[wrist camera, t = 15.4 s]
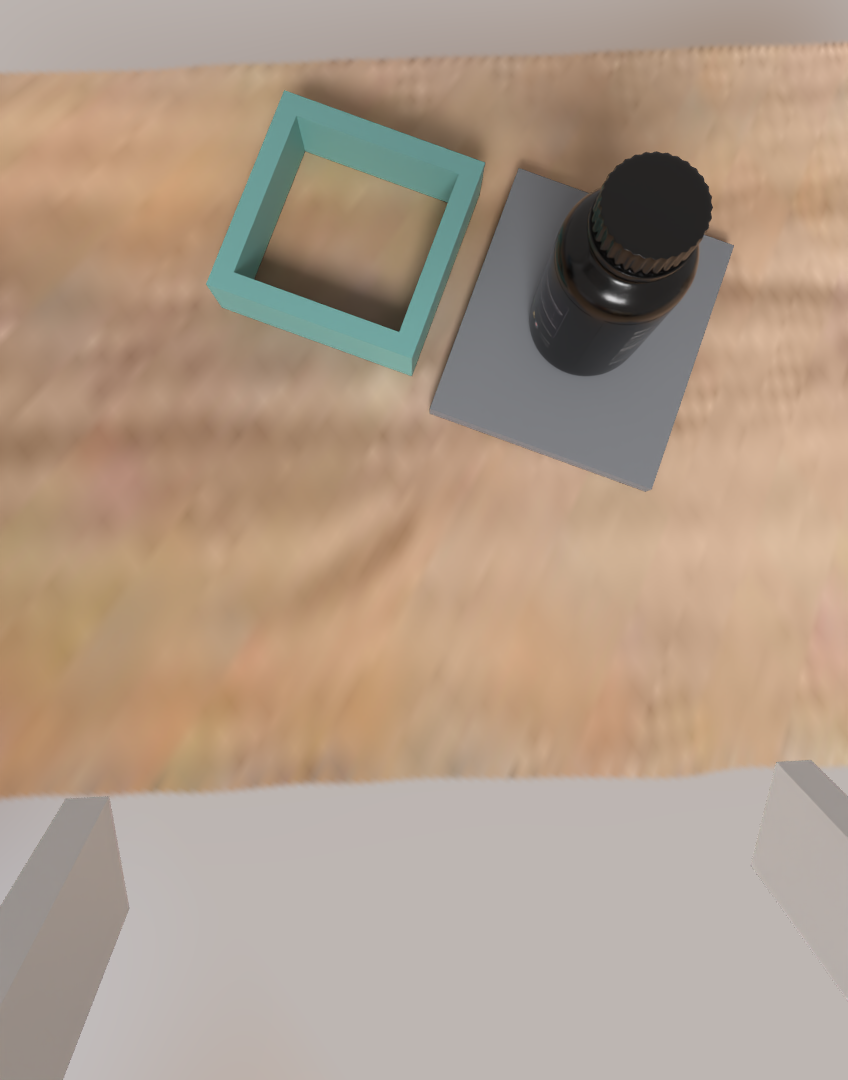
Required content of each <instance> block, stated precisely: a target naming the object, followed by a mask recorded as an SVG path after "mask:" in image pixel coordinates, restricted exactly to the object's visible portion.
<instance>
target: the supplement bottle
mask: <svg viewBox="0 0 848 1080" xmlns="http://www.w3.org/2000/svg"><path fill="white" fill-rule="evenodd" d="M711 199H712V196H711V195H710V193H709V186H708V185H707V184H706V183H705V182H704V178H703V176H701V175H700V174H699V173H698V171H697V169H696V168H694V167H692V166H691V165H690V164H689V163H688V162H687V161H683V160H681V159H680V158H679V157H678V156H672V155H670V154H669V153H660V152H653V153H648V152H645V153H643V154H642V155H634V156H633V157H632V158H630V159H625V160H624V162H623V163H622V164H620V165H617V166H616V167H615V169H614V171H613V172H611V173H610V174H609V175H608V176H607V179H606V181H605V182H604V184H603V185H602V187H601V188H599V189H596V190H595V191H593V192H591V193H589V194H588V195H586V196H585V197H584V198H582V199H581V200H580V201H579V202H578V203H577V204H576V205H575V206H574V207H573V208H572V209H571V211H570V212H569V213H568V215H567V216H566V218H565V220H564V222H563V224H562V225H561V228H560V230H559V232H558V235H557V237H556V240H555V242H554V245H553V248H552V250H551V253H550V255H549V258H548V261H547V263H546V266H545V269H544V271H543V274H542V276H541V279H540V282H539V284H538V287H537V289H536V292H535V295H534V298H533V301H532V304H531V308H530V313H529V327H530V333H531V336H532V339H533V342H534V344H535V346H536V348H537V350H538V351H539V353H540V354H541V355H542V356H543V358H544V359H545V360H546V361H547V362H548V363H550V364H551V365H552V366H554V367H555V368H557V369H559V370H561V371H563V372H565V373H568V374H571V375H576V376H596V375H601V374H604V373H607V372H609V371H612V370H614V369H615V368H617V367H618V366H620V365H621V364H623V363H624V362H625V361H626V360H627V359H628V358H629V357H630V356H631V355H632V354H633V353H634V352H635V351H636V350H637V349H638V348H639V346H640V345H641V344H642V343H643V342H644V341H645V340H646V339H647V338H648V336H649V335H650V334H651V333H652V332H653V331H654V330H655V329H656V328H657V326H658V325H659V324H660V323H661V322H662V321H663V320H664V319H665V317H666V316H667V315H668V314H669V313H670V312H671V311H672V310H673V309H674V307H675V306H676V305H677V304H678V303H679V302H680V301H681V299H682V298H683V297H684V295H685V294H686V293H687V291H688V290H689V288H690V286H691V284H692V282H693V280H694V278H695V275H696V272H697V268H698V263H699V243H700V242H701V241H702V239H703V236H704V234H705V233H706V232H707V230H708V228H709V222H710V221H711V219H712V216H711V211H712V208H713V206H712V204H711Z"/></svg>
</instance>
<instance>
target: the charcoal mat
mask: <svg viewBox="0 0 848 1080" xmlns="http://www.w3.org/2000/svg"><path fill="white" fill-rule="evenodd" d="M588 194H589V193H587V192H584V191H581V190H578V189H576V188H573V187H570V186H567V185H565V184H562V183H559V182H556V181H553V180H551V179H548V178H545V177H542V176H540V175H537V174H534V173H531V172H528V171H526V170H523V169H520V168H519V169H518V172H517V174H516V177H515V180H514V182H513V185H512V188H511V190H510V193H509V196H508V199H507V201H506V204H505V207H504V209H503V212H502V215H501V218H500V220H499V223H498V226H497V228H496V231H495V234H494V237H493V239H492V242H491V245H490V247H489V250H488V253H487V255H486V258H485V261H484V264H483V266H482V269H481V272H480V274H479V277H478V280H477V283H476V285H475V288H474V291H473V293H472V296H471V299H470V302H469V304H468V307H467V310H466V312H465V315H464V318H463V320H462V323H461V326H460V329H459V331H458V334H457V337H456V339H455V342H454V345H453V348H452V350H451V353H450V356H449V358H448V361H447V364H446V367H445V369H444V372H443V375H442V377H441V380H440V383H439V385H438V388H437V391H436V394H435V396H434V399H433V402H432V404H431V407H430V414H433V415H436V416H438V417H441V418H444V419H447V420H449V421H452V422H455V423H458V424H460V425H463V426H466V427H469V428H471V429H474V430H477V431H480V432H482V433H485V434H488V435H491V436H494V437H496V438H499V439H502V440H505V441H507V442H510V443H513V444H516V445H518V446H521V447H524V448H527V449H529V450H532V451H535V452H538V453H540V454H543V455H546V456H549V457H551V458H554V459H557V460H560V461H562V462H565V463H568V464H571V465H574V466H576V467H579V468H582V469H585V470H587V471H590V472H593V473H596V474H598V475H601V476H604V477H607V478H609V479H612V480H615V481H618V482H620V483H623V484H626V485H629V486H631V487H634V488H637V489H640V490H642V491H645V492H646V491H648V490H651V489H652V486H653V484H654V481H655V478H656V475H657V472H658V469H659V466H660V463H661V460H662V457H663V454H664V451H665V448H666V445H667V442H668V439H669V436H670V433H671V430H672V427H673V424H674V421H675V419H676V416H677V413H678V410H679V407H680V404H681V401H682V398H683V395H684V392H685V389H686V386H687V383H688V380H689V377H690V374H691V371H692V368H693V365H694V362H695V359H696V356H697V354H698V351H699V348H700V345H701V342H702V339H703V336H704V333H705V330H706V327H707V324H708V321H709V318H710V315H711V312H712V309H713V306H714V303H715V300H716V297H717V294H718V291H719V289H720V286H721V283H722V280H723V277H724V274H725V271H726V268H727V265H728V262H729V259H730V256H731V253H732V250H733V247H734V245H731V244H728V243H726V242H723V241H720V240H717V239H715V238H712V237H709V236H706V235H704V236H703V239H702V241H701V242H700V243H699V263H698V268H697V272H696V275H695V278H694V280H693V282H692V284H691V286H690V288H689V290H688V291H687V293H686V294H685V295H684V297H683V298H682V299H681V301H680V302H679V303H678V304H677V305H676V306H675V307H674V309H673V310H672V311H671V312H670V313H669V314H668V315H667V316H666V317H665V319H664V320H663V321H662V322H661V323H660V324H659V325H658V326H657V328H656V329H655V330H654V331H653V332H652V333H651V334H650V335H649V336H648V338H647V339H646V340H645V341H644V342H643V343H642V344H641V345H640V346H639V348H638V349H637V350H636V351H635V352H634V353H633V354H632V355H631V356H630V357H629V358H628V359H627V360H626V361H625V362H624V363H623V364H621V365H620V366H618V367H617V368H615V369H614V370H612V371H609V372H607V373H604V374H601V375H596V376H576V375H571V374H568V373H565V372H563V371H561V370H559V369H557V368H555V367H554V366H552V365H551V364H550V363H548V362H547V361H546V360H545V359H544V358H543V356H542V355H541V354H540V353H539V351H538V350H537V348H536V346H535V344H534V342H533V339H532V336H531V333H530V327H529V313H530V308H531V304H532V301H533V298H534V295H535V292H536V289H537V287H538V284H539V282H540V279H541V276H542V274H543V271H544V269H545V266H546V263H547V261H548V258H549V255H550V253H551V250H552V248H553V245H554V242H555V240H556V237H557V235H558V232H559V230H560V228H561V225H562V224H563V222H564V220H565V218H566V216H567V215H568V213H569V212H570V211H571V209H572V208H573V207H574V206H575V205H576V204H577V203H578V202H579V201H580V200H581V199H582V198H584V197H585V196H586V195H588Z"/></svg>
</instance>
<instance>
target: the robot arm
mask: <svg viewBox="0 0 848 1080" xmlns="http://www.w3.org/2000/svg"><path fill="white" fill-rule="evenodd" d="M751 867H752V868H753V870H755V872H756V874H757V875H758V877H759V878H760V879H761V881H762V882H763V884H764V885H765V886H766V888H767V889H768V891H769V892H770V893H771V895H772V896H773V897H774V899H775V900H776V902H777V903H778V904H779V906H780V907H781V909H782V910H783V912H784V913H785V914H786V916H787V917H788V919H789V920H790V921H791V923H792V924H793V926H794V927H795V928H796V930H797V931H798V932H799V934H800V935H801V937H802V938H803V939H804V941H805V942H806V943H807V945H808V946H809V948H810V949H811V951H812V952H813V954H814V955H815V956H816V958H817V959H818V960H819V962H820V963H821V965H822V966H823V967H824V969H825V970H826V971H827V973H828V974H829V976H830V977H831V979H832V980H833V981H834V983H835V984H836V986H837V987H838V988H839V990H840V991H841V993H842V994H843V995H844V997H845V998H846V999H847V1001H848V796H847V795H846V794H845V793H844V792H843V791H842V790H841V789H840V788H839V787H838V786H837V785H836V784H835V783H834V782H833V781H832V780H831V779H829V777H828V776H827V775H826V774H825V773H824V772H823V771H822V770H821V769H820V768H819V767H818V766H817V765H816V764H815V763H813V762H812V761H811V760H805V761H785V762H776V765H775V769H774V773H773V777H772V782H771V786H770V789H769V794H768V798H767V802H766V806H765V810H764V814H763V818H762V822H761V826H760V830H759V834H758V838H757V842H756V847H755V850H754V854H753V858H752V863H751ZM128 910H129V904H128V899H127V893H126V887H125V882H124V876H123V871H122V865H121V860H120V854H119V848H118V843H117V837H116V832H115V826H114V821H113V815H112V809H111V804H110V798H109V797H90V798H71V799H65V801H64V803H63V804H62V806H61V807H60V809H59V811H58V812H57V814H56V816H55V817H54V819H53V820H52V822H51V824H50V825H49V827H48V829H47V831H46V832H45V834H44V835H43V837H42V839H41V840H40V842H39V844H38V845H37V847H36V848H35V850H34V852H33V853H32V855H31V857H30V858H29V860H28V862H27V863H26V865H25V867H24V868H23V870H22V871H21V873H20V875H19V876H18V878H17V880H16V881H15V883H14V885H13V886H12V888H11V890H10V891H9V893H8V894H7V896H6V898H5V900H4V901H3V903H2V904H1V906H0V1080H63V1078H64V1075H65V1073H66V1070H67V1068H68V1065H69V1063H70V1060H71V1057H72V1055H73V1052H74V1050H75V1047H76V1045H77V1042H78V1039H79V1037H80V1034H81V1031H82V1029H83V1027H84V1024H85V1021H86V1019H87V1016H88V1014H89V1011H90V1008H91V1006H92V1003H93V1001H94V998H95V995H96V993H97V990H98V988H99V985H100V983H101V980H102V978H103V975H104V972H105V970H106V967H107V965H108V962H109V959H110V957H111V954H112V952H113V949H114V946H115V944H116V941H117V939H118V936H119V934H120V931H121V929H122V926H123V923H124V921H125V918H126V915H127V913H128Z"/></svg>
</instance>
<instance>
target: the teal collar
mask: <svg viewBox="0 0 848 1080" xmlns="http://www.w3.org/2000/svg"><path fill="white" fill-rule="evenodd" d="M305 151H306V152H309V153H312V154H315V155H317V156H320V157H323V158H326V159H328V160H331V161H334V162H337V163H339V164H342V165H345V166H348V167H351V168H353V169H356V170H359V171H362V172H364V173H367V174H370V175H373V176H376V177H378V178H381V179H384V180H387V181H389V182H392V183H395V184H398V185H401V186H403V187H406V188H409V189H412V190H414V191H417V192H420V193H423V194H425V195H428V196H431V197H434V198H437V199H439V200H442V201H445V202H448V204H447V207H446V209H445V212H444V215H443V217H442V220H441V222H440V225H439V228H438V230H437V233H436V236H435V238H434V241H433V244H432V246H431V249H430V252H429V254H428V257H427V260H426V262H425V265H424V268H423V270H422V273H421V276H420V278H419V281H418V284H417V286H416V289H415V292H414V294H413V297H412V299H411V302H410V305H409V307H408V310H407V313H406V315H405V318H404V321H403V323H402V326H401V329H400V331H399V332H398V331H395V330H392V329H389V328H386V327H384V326H381V325H378V324H375V323H373V322H370V321H367V320H364V319H362V318H359V317H356V316H353V315H351V314H348V313H345V312H342V311H339V310H337V309H334V308H331V307H328V306H326V305H323V304H320V303H317V302H315V301H312V300H309V299H306V298H304V297H301V296H298V295H295V294H292V293H290V292H287V291H284V290H281V289H279V288H276V287H273V286H270V285H268V284H265V283H262V282H259V281H257V280H254V278H255V276H256V273H257V271H258V268H259V266H260V263H261V261H262V258H263V256H264V253H265V251H266V248H267V246H268V243H269V241H270V238H271V236H272V233H273V231H274V228H275V226H276V223H277V220H278V218H279V215H280V213H281V210H282V208H283V205H284V203H285V200H286V198H287V195H288V193H289V190H290V188H291V185H292V183H293V180H294V178H295V175H296V173H297V170H298V168H299V165H300V163H301V160H302V158H303V155H304V153H305ZM484 166H485V162H482V161H479V160H477V159H474V158H471V157H468V156H465V155H463V154H460V153H457V152H454V151H452V150H449V149H446V148H443V147H440V146H438V145H435V144H432V143H429V142H427V141H424V140H421V139H418V138H415V137H413V136H410V135H407V134H404V133H402V132H399V131H396V130H393V129H390V128H388V127H385V126H382V125H379V124H377V123H374V122H371V121H368V120H365V119H363V118H360V117H357V116H354V115H352V114H349V113H346V112H343V111H340V110H338V109H335V108H332V107H329V106H327V105H324V104H321V103H318V102H315V101H313V100H310V99H307V98H304V97H302V96H299V95H296V94H293V93H290V92H288V91H285V90H284V92H283V95H282V97H281V100H280V102H279V105H278V107H277V110H276V112H275V115H274V117H273V120H272V122H271V125H270V127H269V130H268V132H267V134H266V137H265V139H264V142H263V144H262V147H261V149H260V152H259V154H258V157H257V159H256V162H255V164H254V167H253V169H252V172H251V174H250V177H249V179H248V182H247V184H246V187H245V189H244V192H243V194H242V196H241V199H240V201H239V204H238V206H237V209H236V211H235V214H234V216H233V219H232V221H231V224H230V226H229V229H228V231H227V234H226V236H225V239H224V241H223V244H222V246H221V249H220V251H219V253H218V256H217V258H216V261H215V263H214V266H213V268H212V271H211V273H210V276H209V278H208V281H207V283H206V285H207V286H208V288H209V289H210V291H211V292H212V294H213V295H214V296H215V298H216V299H217V301H218V302H219V304H220V305H221V307H222V308H225V309H228V310H231V311H233V312H236V313H239V314H242V315H244V316H247V317H250V318H253V319H255V320H258V321H261V322H264V323H266V324H269V325H272V326H275V327H277V328H280V329H283V330H286V331H289V332H291V333H294V334H297V335H300V336H302V337H305V338H308V339H311V340H313V341H316V342H319V343H322V344H324V345H327V346H330V347H333V348H335V349H338V350H341V351H344V352H347V353H349V354H352V355H355V356H358V357H360V358H363V359H366V360H369V361H371V362H374V363H377V364H380V365H382V366H385V367H388V368H391V369H393V370H396V371H399V372H402V373H404V374H407V375H410V376H412V374H413V372H414V369H415V366H416V364H417V361H418V358H419V356H420V353H421V350H422V348H423V345H424V342H425V339H426V337H427V334H428V331H429V329H430V326H431V323H432V321H433V318H434V315H435V313H436V310H437V307H438V305H439V302H440V299H441V297H442V294H443V291H444V289H445V286H446V283H447V281H448V278H449V275H450V272H451V270H452V267H453V264H454V262H455V259H456V256H457V254H458V251H459V248H460V246H461V243H462V240H463V238H464V235H465V232H466V230H467V227H468V224H469V222H470V219H471V216H472V214H473V211H474V208H475V205H476V203H477V200H478V197H479V195H480V189H481V184H482V178H483V172H484Z"/></svg>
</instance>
